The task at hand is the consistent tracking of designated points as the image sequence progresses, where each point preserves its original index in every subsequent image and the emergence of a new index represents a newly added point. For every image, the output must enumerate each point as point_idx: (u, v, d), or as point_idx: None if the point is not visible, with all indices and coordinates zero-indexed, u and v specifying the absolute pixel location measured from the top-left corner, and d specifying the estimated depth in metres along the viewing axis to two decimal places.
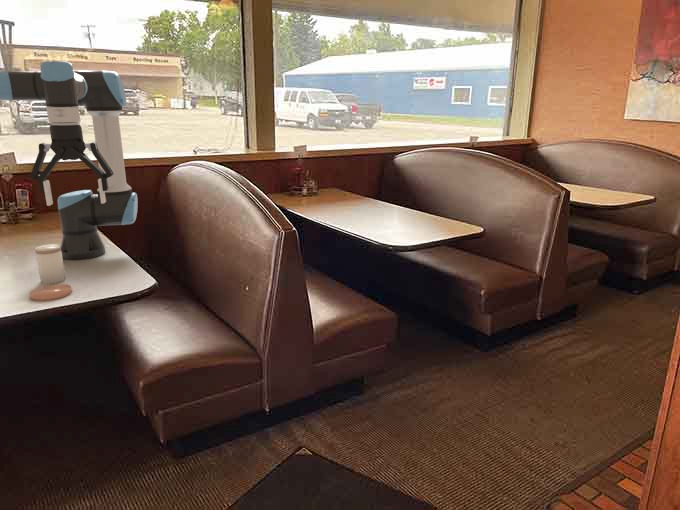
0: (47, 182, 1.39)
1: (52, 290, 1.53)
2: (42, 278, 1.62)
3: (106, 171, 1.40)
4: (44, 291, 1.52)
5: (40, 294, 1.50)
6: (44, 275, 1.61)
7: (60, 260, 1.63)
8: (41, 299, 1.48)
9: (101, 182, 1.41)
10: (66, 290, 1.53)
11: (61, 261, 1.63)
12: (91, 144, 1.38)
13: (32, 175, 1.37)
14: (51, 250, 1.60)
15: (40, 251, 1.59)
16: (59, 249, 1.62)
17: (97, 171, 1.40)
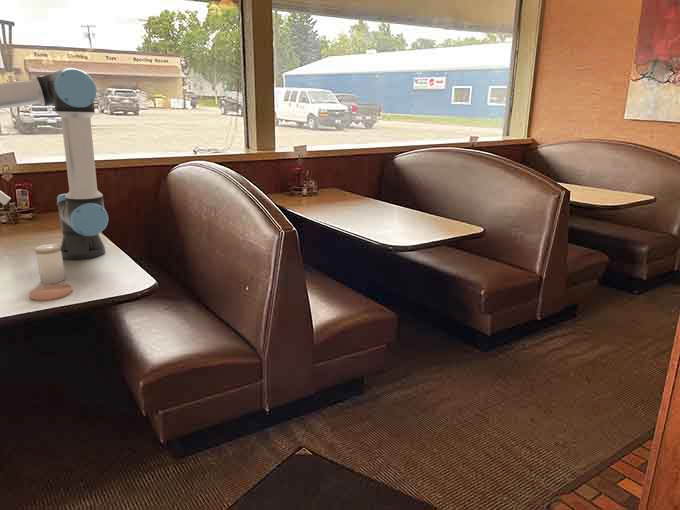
0: None
1: (52, 290, 1.53)
2: (42, 278, 1.62)
3: None
4: (44, 291, 1.52)
5: (40, 294, 1.50)
6: (44, 275, 1.61)
7: (60, 259, 1.63)
8: (41, 299, 1.48)
9: None
10: (66, 290, 1.53)
11: (61, 261, 1.63)
12: None
13: None
14: (51, 250, 1.60)
15: (40, 251, 1.59)
16: (59, 249, 1.62)
17: None
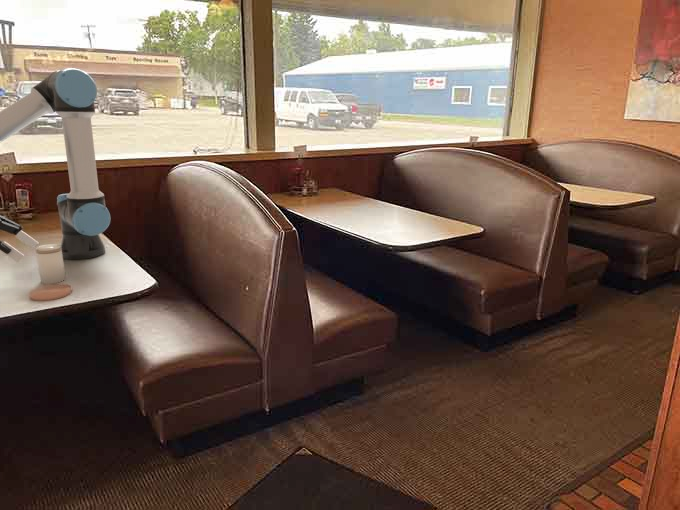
0: (18, 235, 1.64)
1: (52, 290, 1.53)
2: (42, 278, 1.62)
3: None
4: (44, 291, 1.52)
5: (40, 294, 1.50)
6: (45, 275, 1.61)
7: (61, 259, 1.63)
8: (41, 299, 1.48)
9: None
10: (66, 290, 1.53)
11: (61, 261, 1.64)
12: None
13: None
14: (52, 250, 1.60)
15: (41, 251, 1.59)
16: (60, 249, 1.62)
17: None
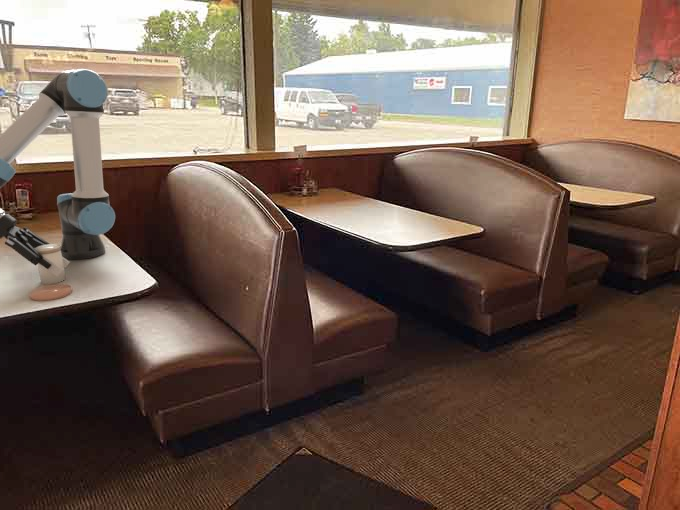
0: None
1: (52, 290, 1.53)
2: (42, 278, 1.62)
3: None
4: (44, 291, 1.52)
5: (40, 294, 1.50)
6: (45, 275, 1.61)
7: (60, 259, 1.63)
8: (41, 299, 1.48)
9: None
10: (66, 290, 1.53)
11: (61, 261, 1.64)
12: None
13: None
14: (51, 250, 1.60)
15: (40, 251, 1.59)
16: (59, 249, 1.62)
17: None
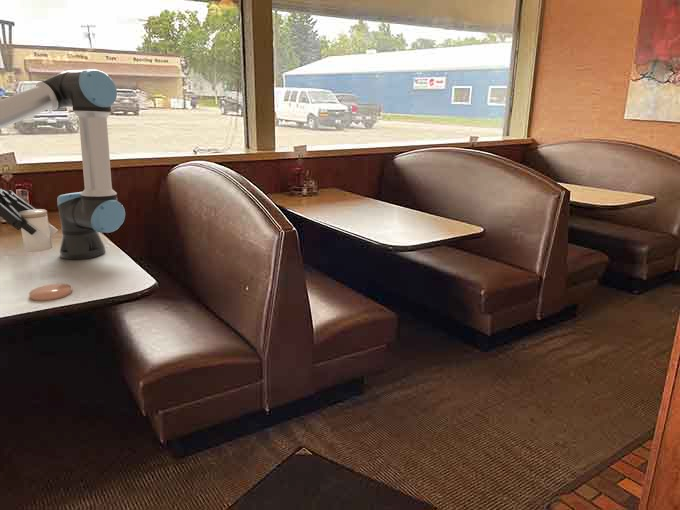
0: None
1: (52, 290, 1.53)
2: (26, 245, 1.48)
3: None
4: (44, 291, 1.52)
5: (40, 294, 1.50)
6: (28, 242, 1.47)
7: (46, 225, 1.49)
8: (41, 299, 1.48)
9: None
10: (66, 290, 1.53)
11: (47, 227, 1.50)
12: None
13: None
14: (36, 214, 1.46)
15: (24, 215, 1.45)
16: (45, 214, 1.48)
17: None
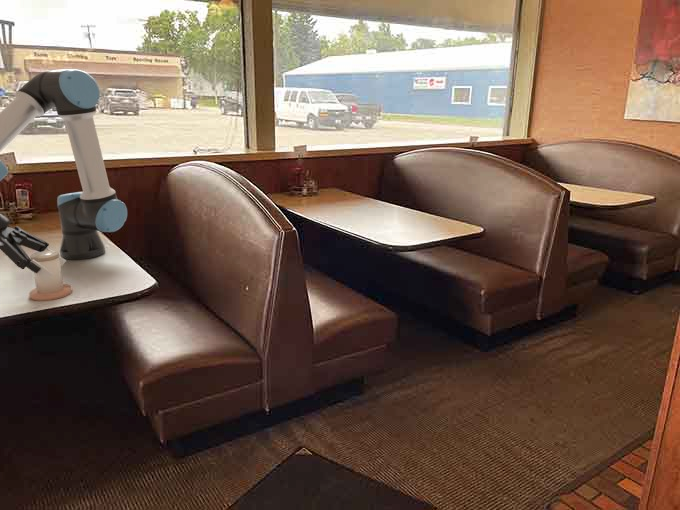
0: None
1: None
2: (39, 287, 1.50)
3: None
4: None
5: (40, 294, 1.50)
6: (41, 285, 1.50)
7: (58, 267, 1.52)
8: (41, 299, 1.48)
9: None
10: (66, 290, 1.53)
11: (59, 269, 1.52)
12: None
13: None
14: (48, 257, 1.48)
15: (36, 258, 1.47)
16: (57, 256, 1.51)
17: None
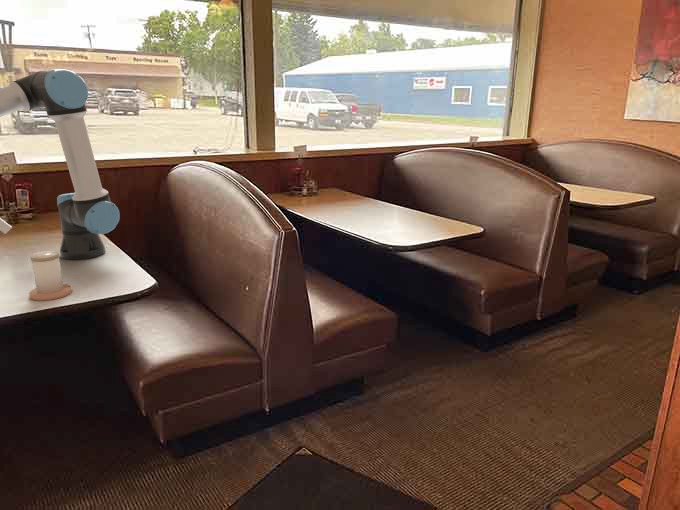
0: None
1: None
2: (39, 287, 1.50)
3: None
4: None
5: (40, 294, 1.50)
6: (41, 285, 1.50)
7: (58, 267, 1.52)
8: (41, 299, 1.48)
9: None
10: (66, 290, 1.53)
11: (59, 269, 1.52)
12: None
13: None
14: (48, 257, 1.48)
15: (36, 258, 1.47)
16: (57, 256, 1.51)
17: None
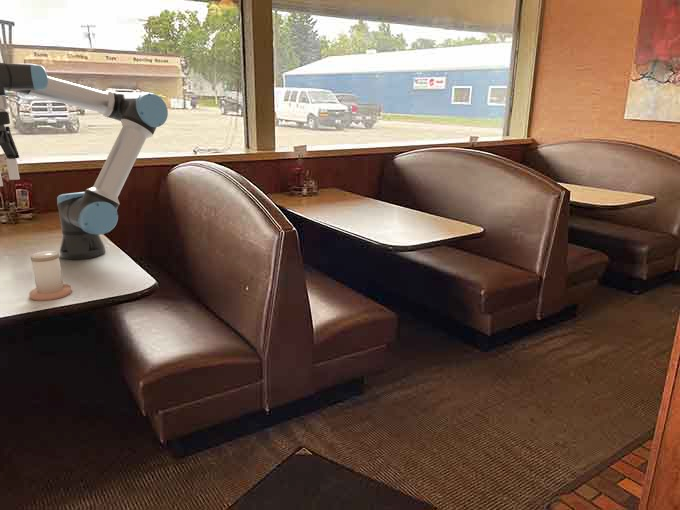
0: (9, 160, 1.63)
1: None
2: (39, 287, 1.50)
3: None
4: None
5: (40, 294, 1.50)
6: (41, 285, 1.50)
7: (58, 267, 1.52)
8: (41, 299, 1.48)
9: None
10: (66, 290, 1.53)
11: (59, 269, 1.52)
12: None
13: None
14: (48, 257, 1.48)
15: (37, 258, 1.47)
16: (57, 256, 1.51)
17: None
